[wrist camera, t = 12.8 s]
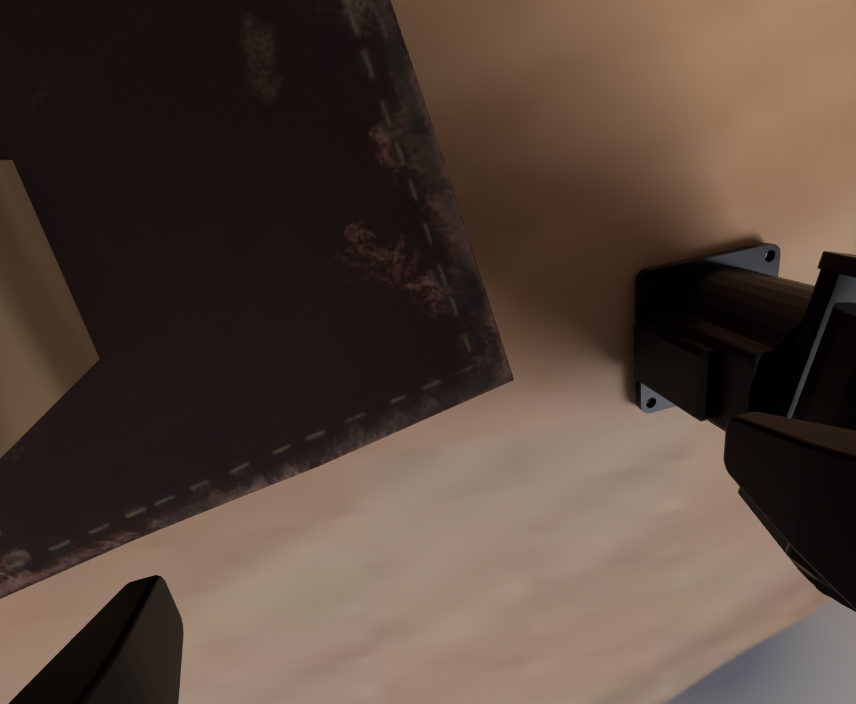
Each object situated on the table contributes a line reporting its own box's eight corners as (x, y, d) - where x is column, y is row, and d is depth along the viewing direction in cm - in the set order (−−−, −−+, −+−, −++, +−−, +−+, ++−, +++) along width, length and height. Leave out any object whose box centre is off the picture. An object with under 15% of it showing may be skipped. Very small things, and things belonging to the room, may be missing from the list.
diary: (-692, 94, 13) (-1253, 52, 8) (277, -217, 15) (267, -391, 10) (-130, 615, 20) (-261, 751, 15) (476, 353, 22) (523, 402, 17)
